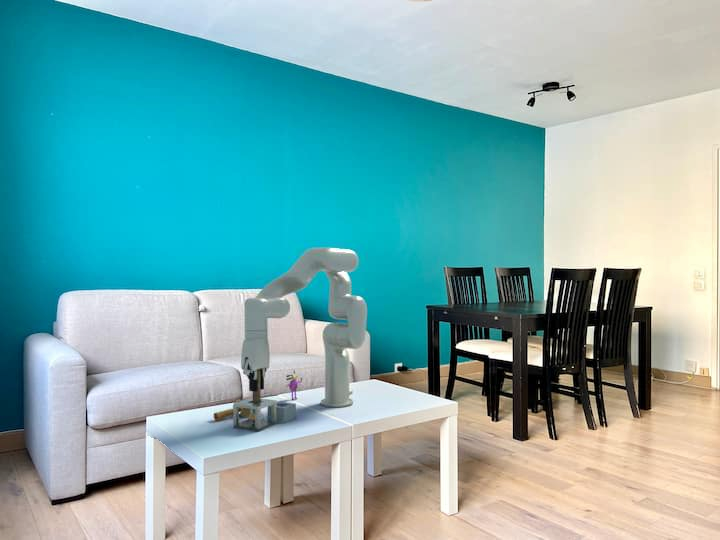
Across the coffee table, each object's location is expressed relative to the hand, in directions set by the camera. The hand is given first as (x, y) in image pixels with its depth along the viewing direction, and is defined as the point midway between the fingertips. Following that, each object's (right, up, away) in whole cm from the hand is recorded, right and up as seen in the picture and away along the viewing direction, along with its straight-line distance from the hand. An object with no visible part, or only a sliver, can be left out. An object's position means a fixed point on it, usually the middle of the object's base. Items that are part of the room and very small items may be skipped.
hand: (256, 389), depth 177 cm
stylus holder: (+7, -12, +8) cm, 16 cm away
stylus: (0, -6, 0) cm, 6 cm away
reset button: (0, -10, -1) cm, 10 cm away
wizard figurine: (+7, -13, +38) cm, 41 cm away
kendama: (-9, -12, +11) cm, 19 cm away
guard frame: (0, -12, -1) cm, 12 cm away
